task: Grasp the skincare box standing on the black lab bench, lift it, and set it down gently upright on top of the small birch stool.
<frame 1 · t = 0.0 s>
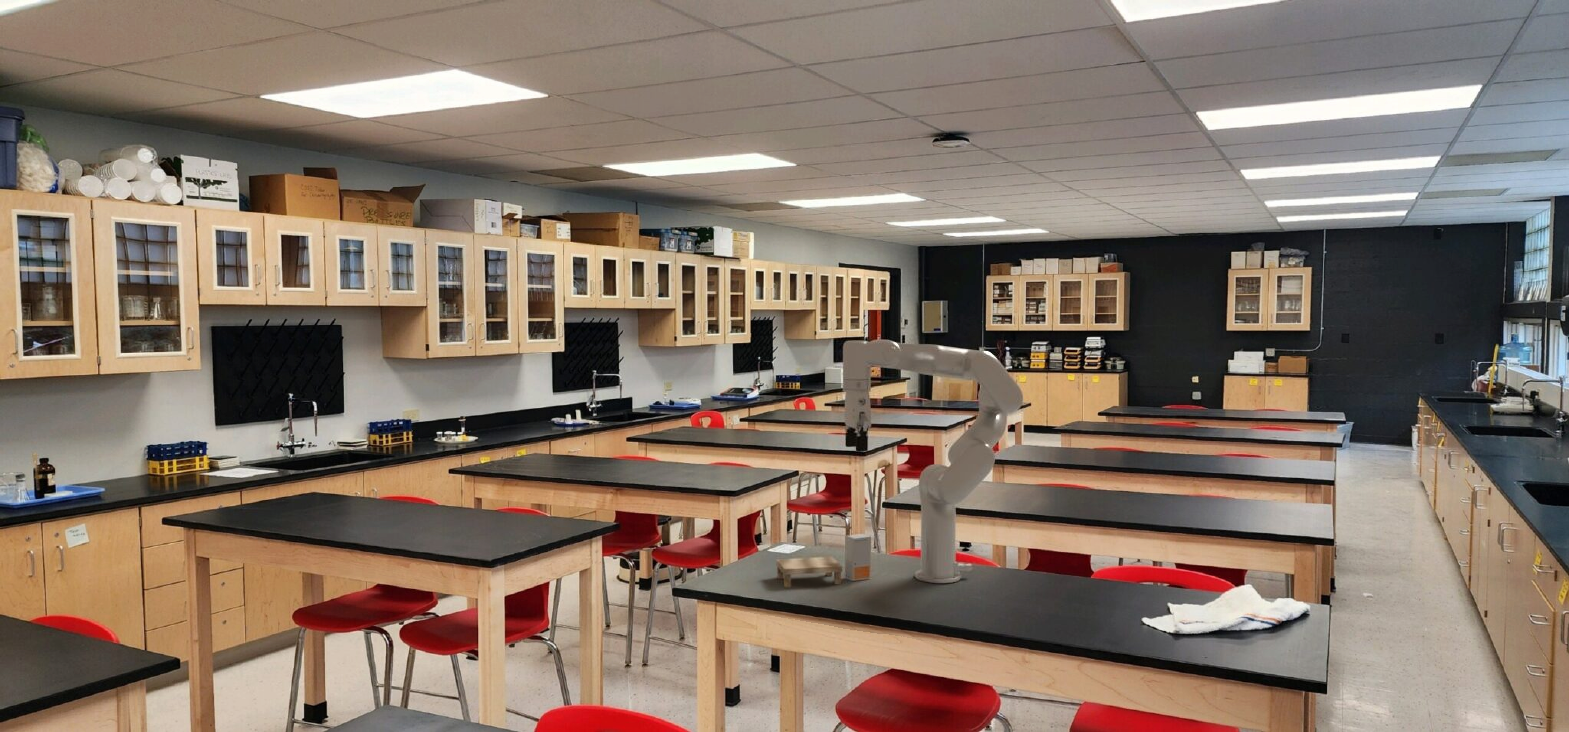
hand: (856, 448, 257), 37 cm above the table, tool pointing down, fingers open, 9 cm apart
skincare box: (857, 579, 263), on the table
birch stool: (808, 580, 260), on the table
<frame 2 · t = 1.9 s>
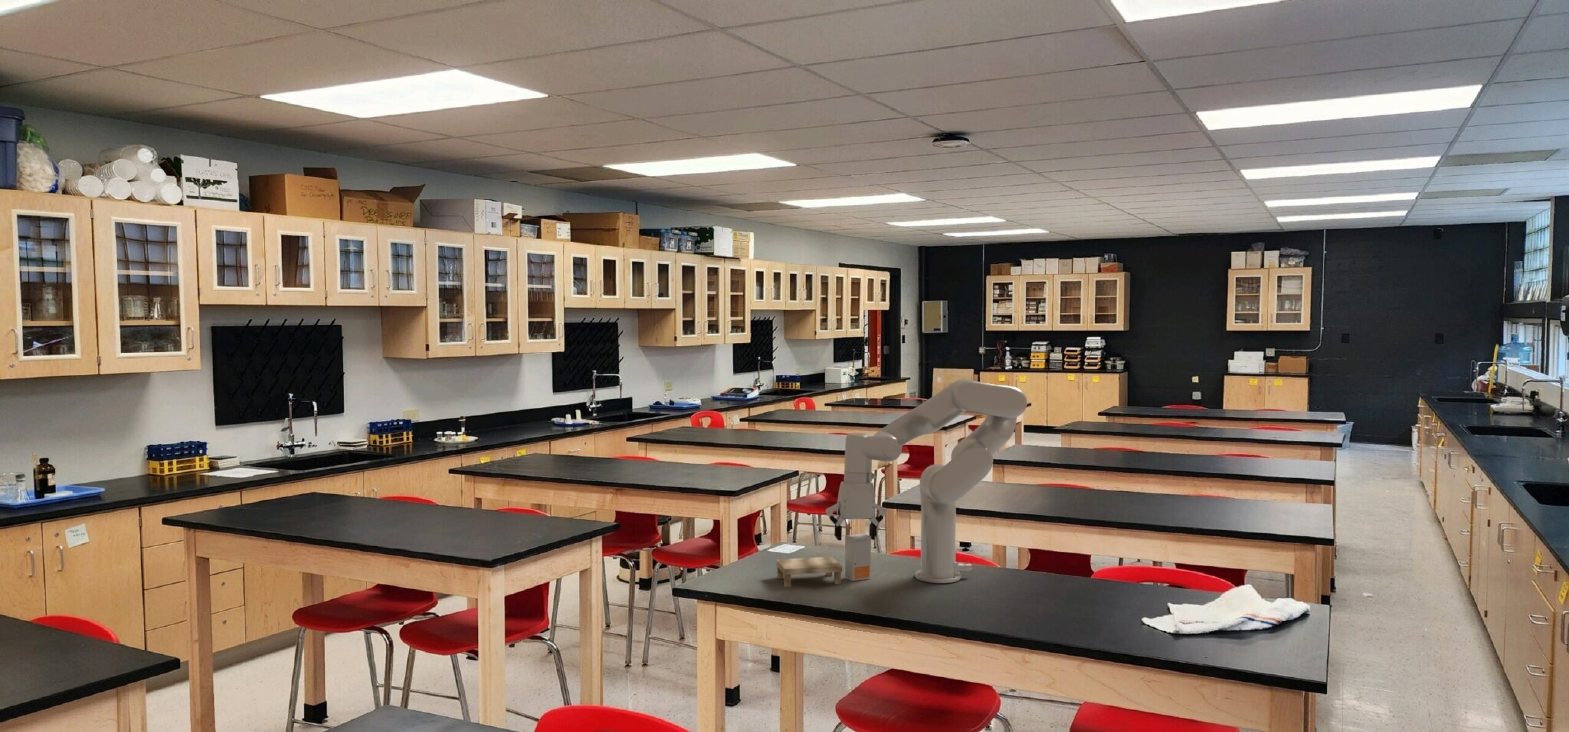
hand: (855, 539, 262), 11 cm above the table, tool pointing down, fingers open, 9 cm apart
nothing on the table moved.
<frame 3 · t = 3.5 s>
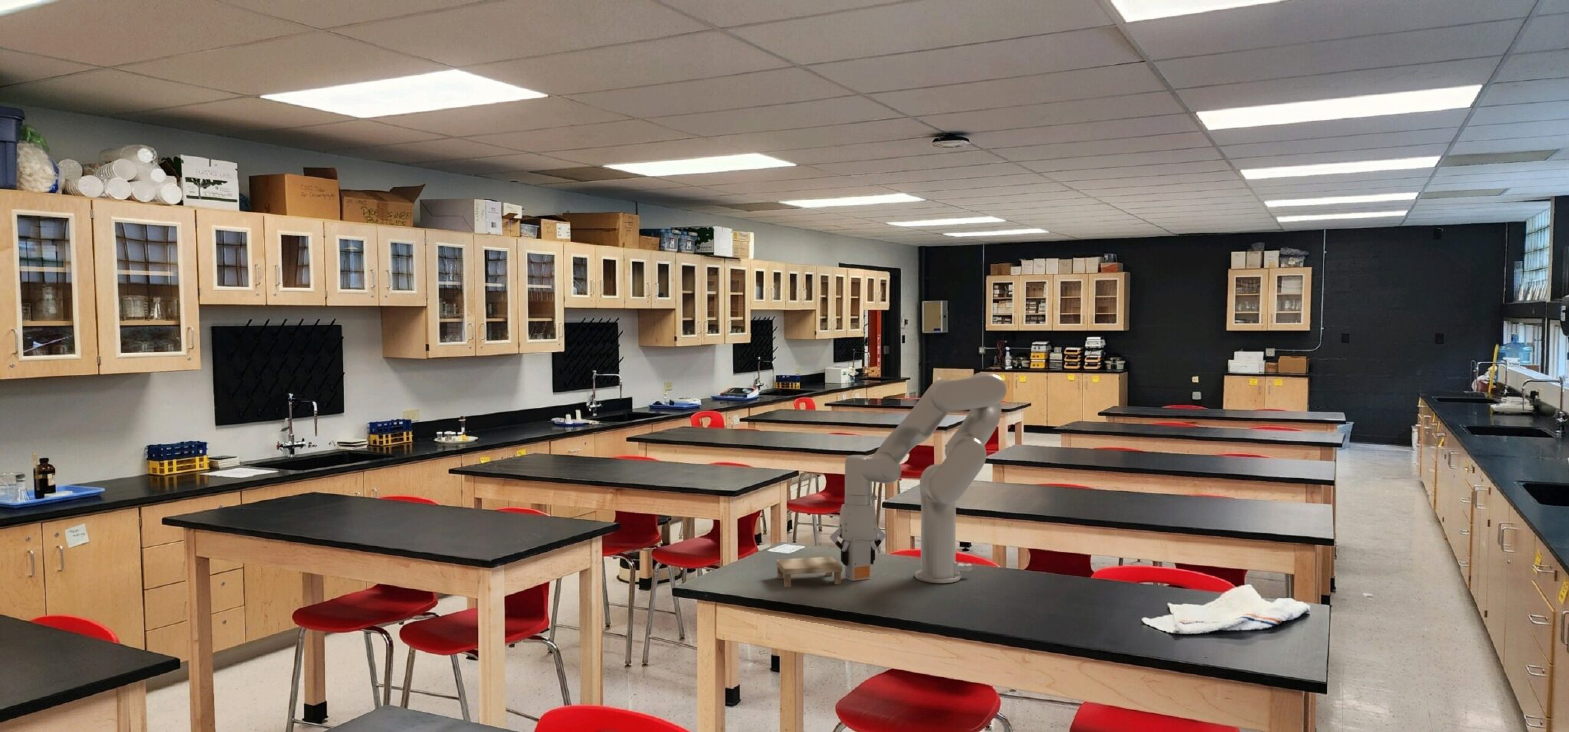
hand: (857, 563, 262), 4 cm above the table, tool pointing down, fingers closed on skincare box, 6 cm apart
skincare box: (857, 579, 263), on the table, touching gripper
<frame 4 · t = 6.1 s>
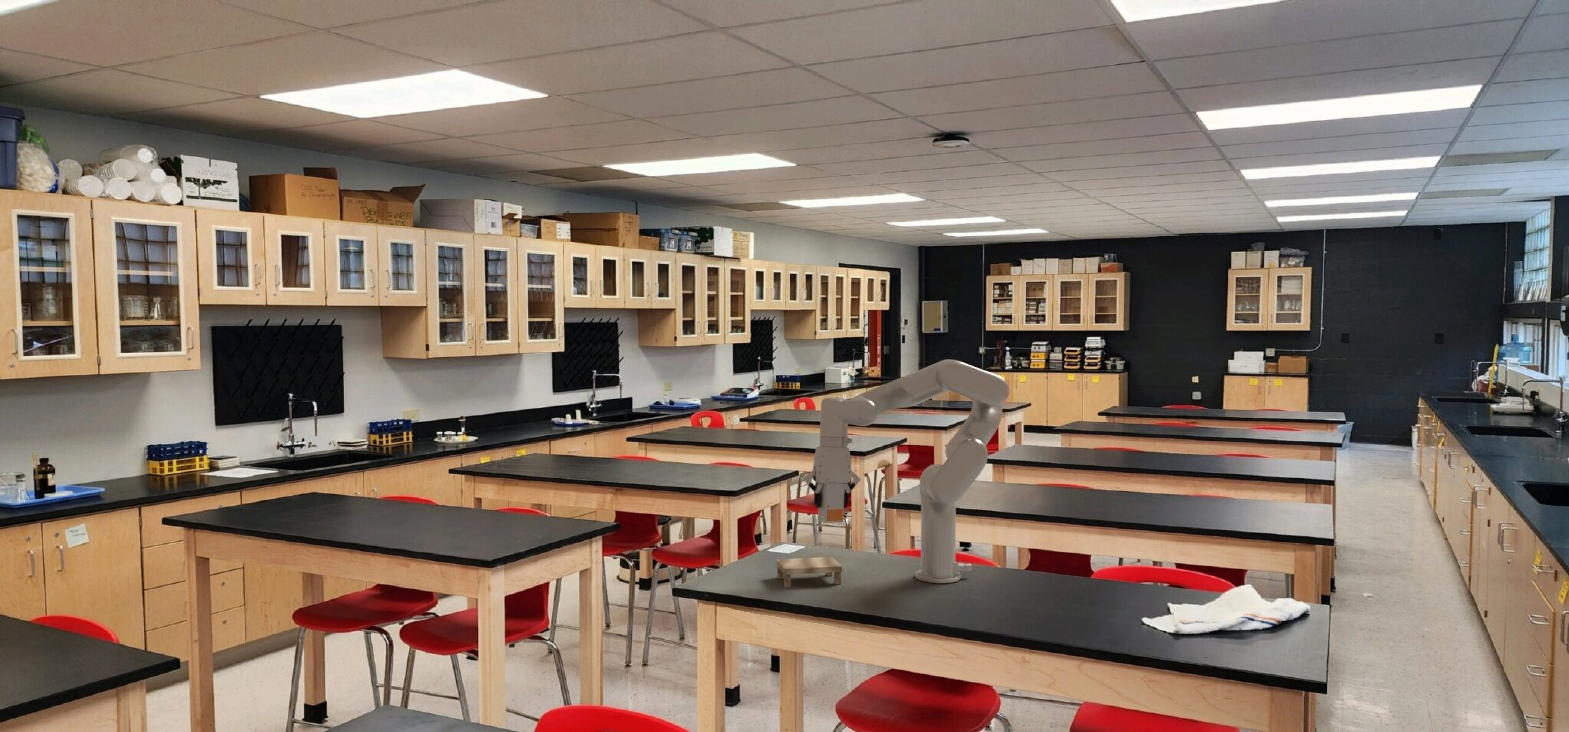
hand: (831, 506, 260), 20 cm above the table, tool pointing down, fingers closed on skincare box, 6 cm apart
skincare box: (830, 522, 261), point 16 cm above the table, touching gripper
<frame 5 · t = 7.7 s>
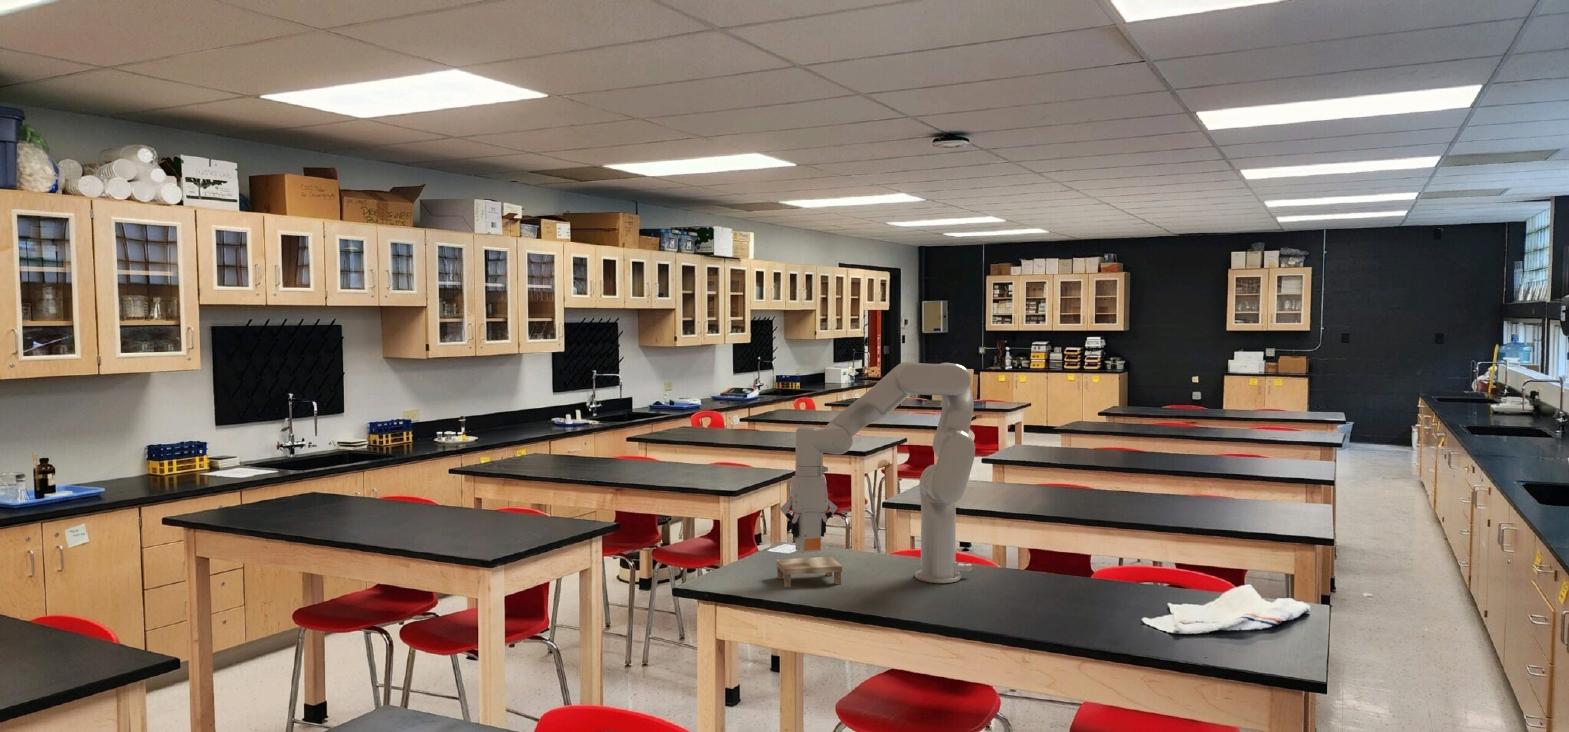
hand: (808, 535, 260), 13 cm above the table, tool pointing down, fingers closed on skincare box, 6 cm apart
skincare box: (808, 551, 260), point 8 cm above the table, touching gripper
when the fingers open (11 cm above the table, at t = 8.9 s): skincare box drops 2 cm, resting on birch stool.
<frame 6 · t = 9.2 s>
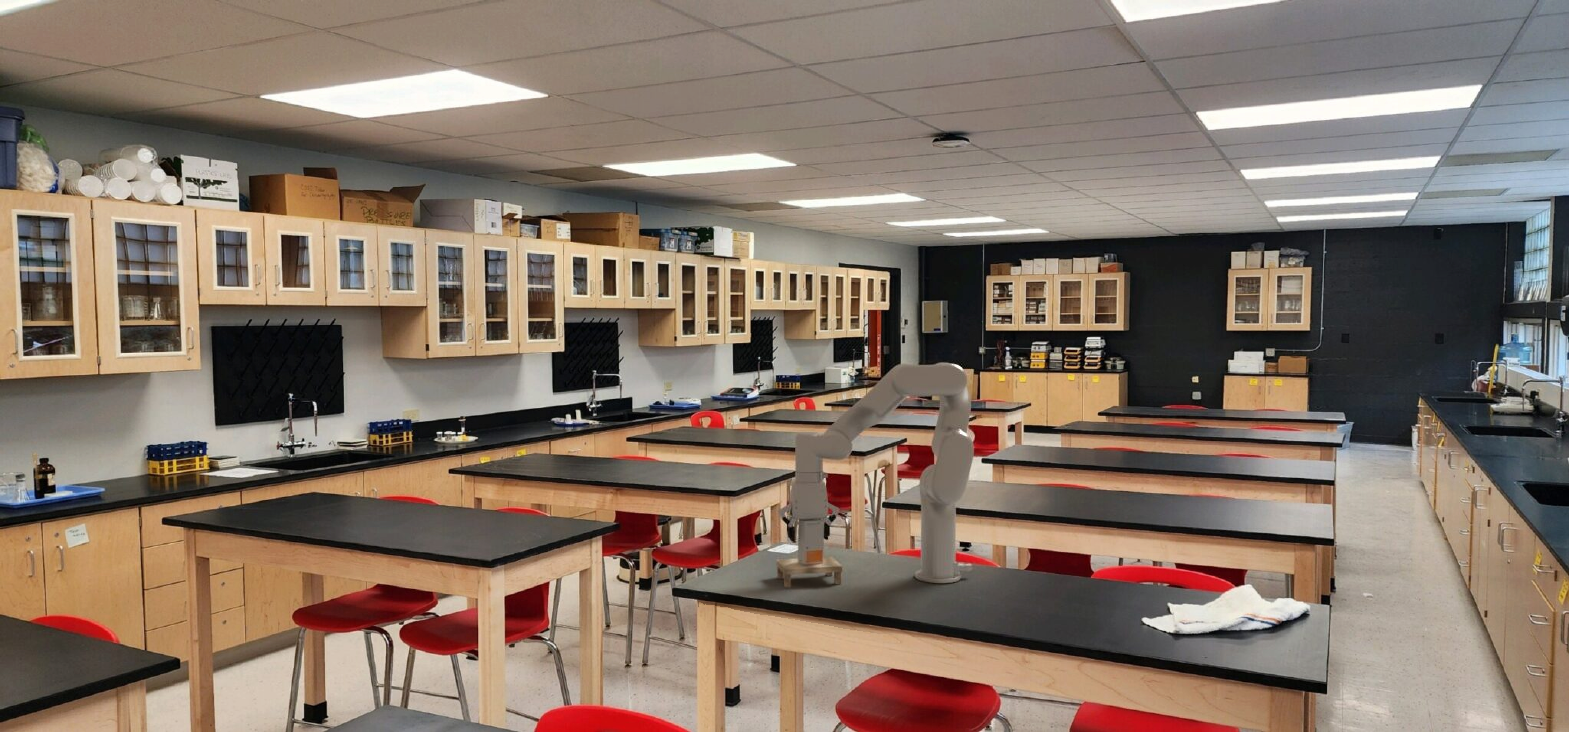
hand: (808, 539, 260), 11 cm above the table, tool pointing down, fingers open, 9 cm apart
skincare box: (810, 563, 260), point 5 cm above the table, touching birch stool
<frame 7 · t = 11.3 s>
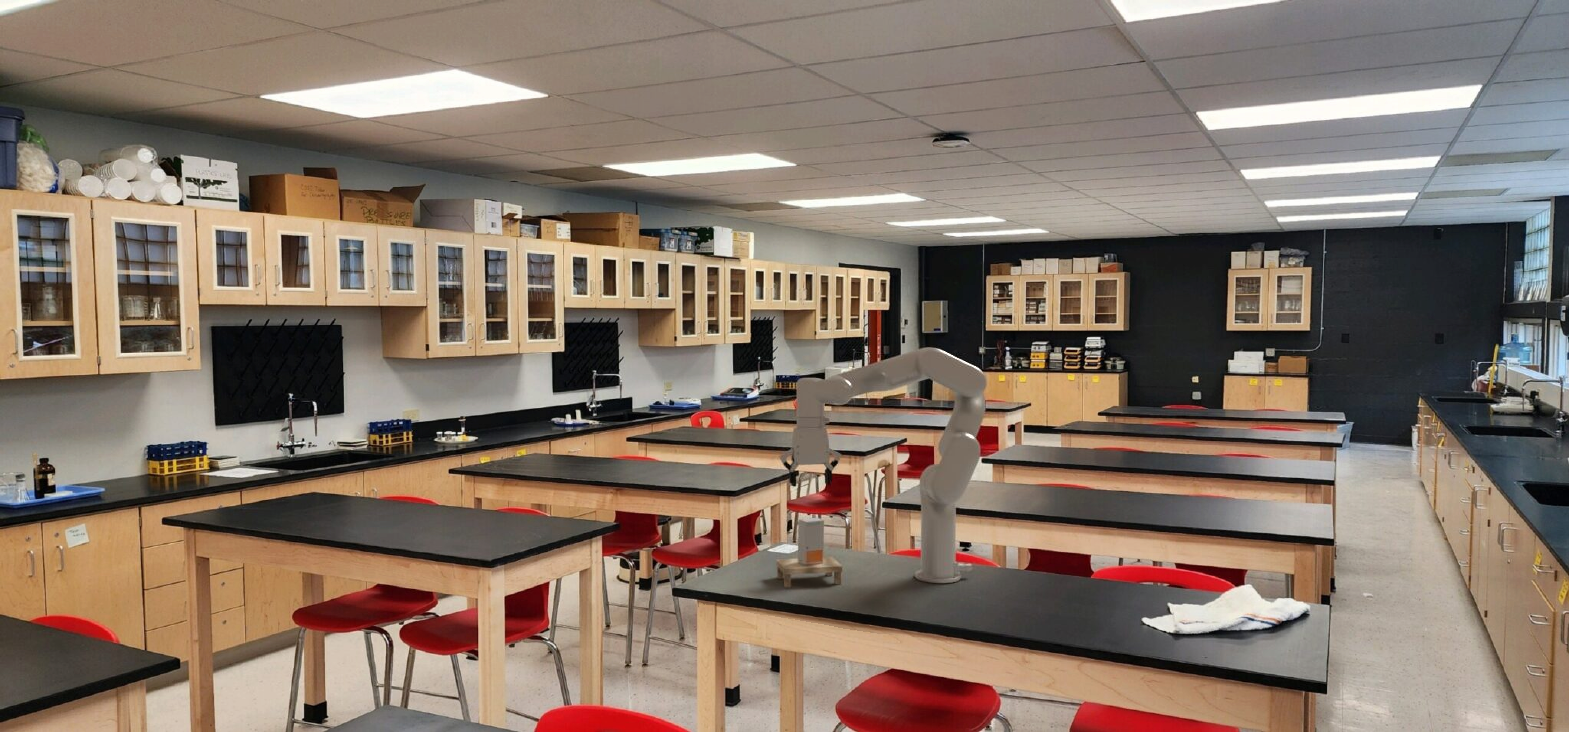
hand: (810, 485, 259), 26 cm above the table, tool pointing down, fingers open, 9 cm apart
nothing on the table moved.
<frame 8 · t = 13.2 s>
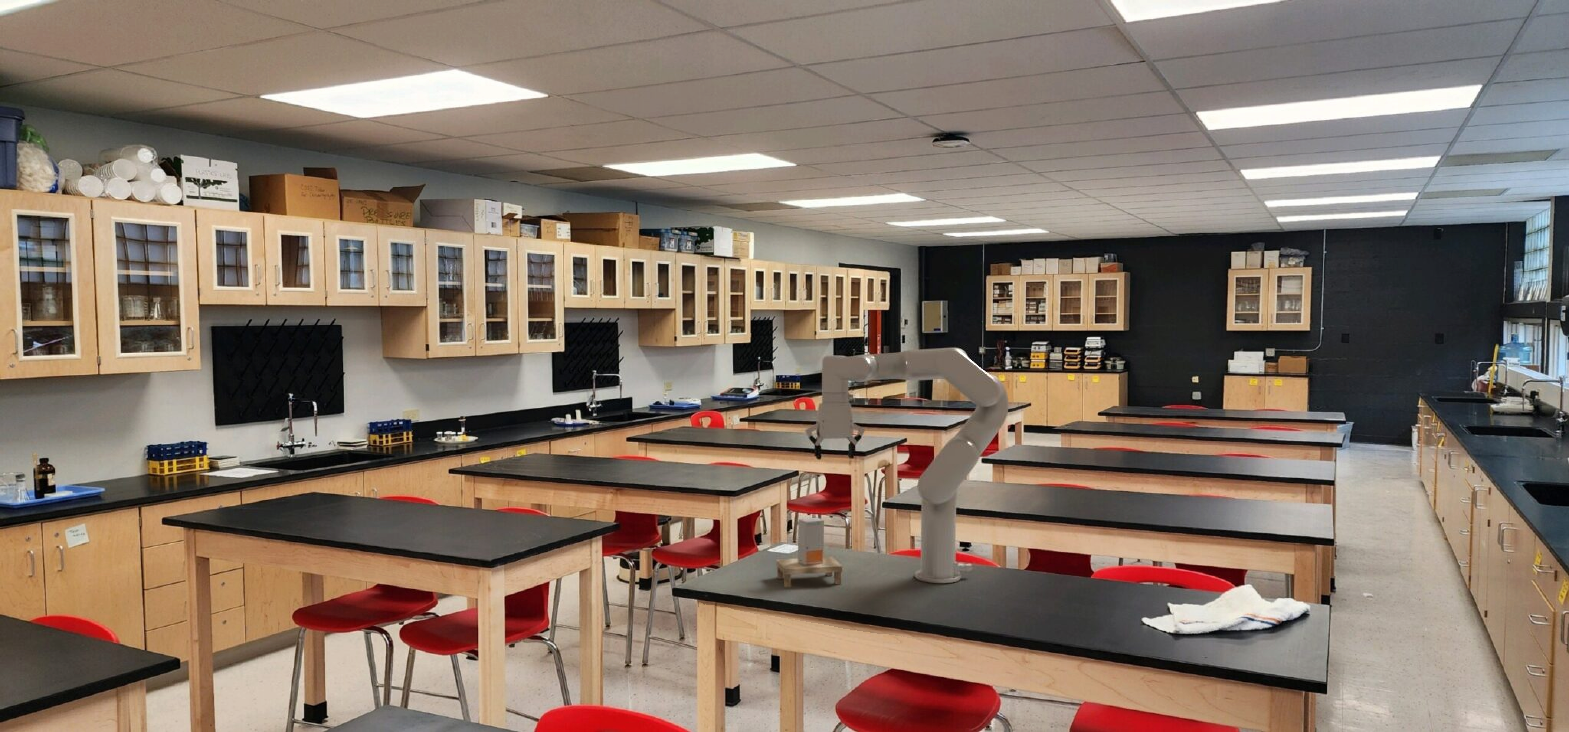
hand: (834, 458, 270), 32 cm above the table, tool pointing down, fingers open, 9 cm apart
nothing on the table moved.
at the end: skincare box inside the target area on the birch stool (0.6 cm from its centre), point 4.8 cm above the birch stool's base; skincare box tilted 0°; the gripper is holding nothing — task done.
